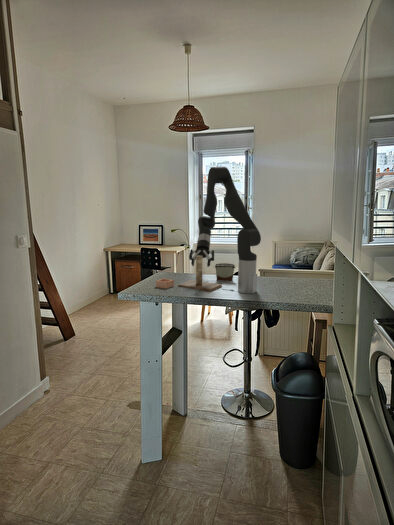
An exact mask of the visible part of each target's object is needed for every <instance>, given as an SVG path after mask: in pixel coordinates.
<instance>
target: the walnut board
mask: <svg viewBox="0 0 394 525" xmlns="http://www.w3.org/2000/svg"><path fill="white" fill-rule="evenodd" d="M177 287H179V288H180V287H181V288H186V289H193V290H199V291H201V292H208V293H212V292H213V291H216V290H218V289H220V288H222V287H223V286H222V283H215V282H208V281H202V285H196V280H193V279H192V280H191V279H190V280H187V281H184V282H182V283H178V284H177Z"/></svg>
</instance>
